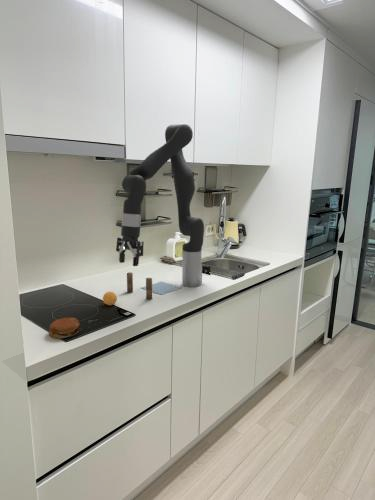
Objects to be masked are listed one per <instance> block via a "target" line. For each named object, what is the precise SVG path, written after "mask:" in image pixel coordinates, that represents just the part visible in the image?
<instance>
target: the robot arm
mask: <svg viewBox="0 0 375 500" xmlns="http://www.w3.org/2000/svg"><path fill="white" fill-rule="evenodd" d="M193 136H194V135H193V129H192V127H191V126H190V125H189V124H187V123H176V124H175V123H174V124H170V125H168V126H167V127H166V128H165V131H164V138H165V143H164V144H163V145H162V146H160V147H158V148H157V149H155V150H154V151H153V152H151V153H149V154H148V156H146V158H145V159H143V161H142V162H141V163H140V164H139V166H137V167H136V168H134V169H133V170H131V171H130V172H128V173H127V174H126V175H125V176H124V178H123V179H122V181H121V186H122V189H123V190H124V192H126V193H129V194H128V198H126V199H125V200H124V202H123V208H122V209H123V211H122V213H123V214H122V218H121V229H120V231H121V233H120V235H121V237H120V236H119V237H117V238H116V246H115V251H116V252H118V254H119V256H118V262H119V263H120V264H123V263H125V260H126V254H125V253H126V252H127V250H128V251H130V252H131V254H132V256H133V257H132V266H133V267H138V266H139V263H140V262H139V261H140V257H143V256H144V241H142V240H139V239H138V238H140V236H141V222H142V221H141V220H142V217H141V212H142V203H143V200H144V198H145V193H146V189H147V188H146V187H147V183H146V181H147V180H150V179H152V178H153V177H154V176H155V175H156V174H157V173H158V171H160V170H161V168H162V167H163V166H164V165H165V164H166V163H168V161H170V165H171V170H172V176H173V183H174V185H173V186H174V190H175V191H174V192H175V195H176V204H177V213H178V227H179V232H180V234H182V235H183V236H187V237H189V240H188V241H189V242H186V243H185V242H184V243H183V245H182V259H181V260H182V262H181V263H182V266H181V267H182V268H181V269H182V270H181V271H182V274H181V275H182V276H181V278H182V279H181V280H182V281H181V284H182V286H184V287H188V288H195V287H199V286H201V285H202V284H203V273H202V266H203V264H202V250H203V249H202V247H203V245H204V237H205V236H204V234H205V224H204V221H203V219H202V218H200V217H194V216H191V209H190V208H191V206H190V205H191V202H192V199H193V197H194V195H195V191H196V189H195V188H196V185H195V177H194V174H193V170H192V168H191V167H190V165H189V164H188V162H187V161H186V159H185V156H184V153H183V149H184V148H185V147H187V146H188V144H190V143H191V142H192V139H193Z"/></svg>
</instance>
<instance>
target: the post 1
mask: <svg viewBox="0 0 375 500" xmlns="http://www.w3.org/2000/svg"><path fill="white" fill-rule="evenodd" d="M133 274H134V273H133V272H131V271H130V272H127V273H126V292H127V294H132V293H134V284H133V281H134V278H133Z"/></svg>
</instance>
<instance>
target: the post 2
mask: <svg viewBox="0 0 375 500" xmlns="http://www.w3.org/2000/svg"><path fill="white" fill-rule="evenodd" d="M152 284H153V278H152V277H145V286H146V290H145V299H146V300H147V301H149V300H153V292H152Z"/></svg>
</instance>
